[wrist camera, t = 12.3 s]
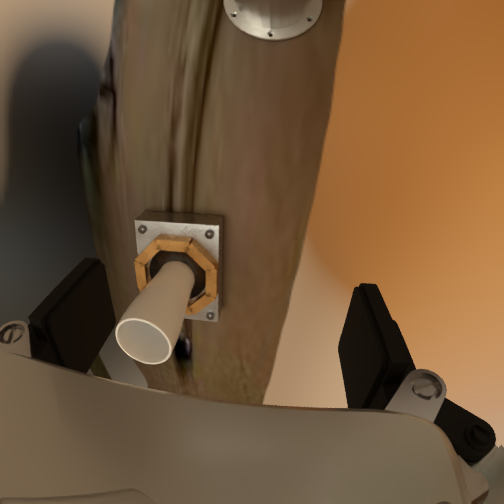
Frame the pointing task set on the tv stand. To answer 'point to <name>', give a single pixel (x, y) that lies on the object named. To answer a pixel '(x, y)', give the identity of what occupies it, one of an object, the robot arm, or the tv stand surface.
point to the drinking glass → (157, 315)
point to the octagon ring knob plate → (184, 255)
